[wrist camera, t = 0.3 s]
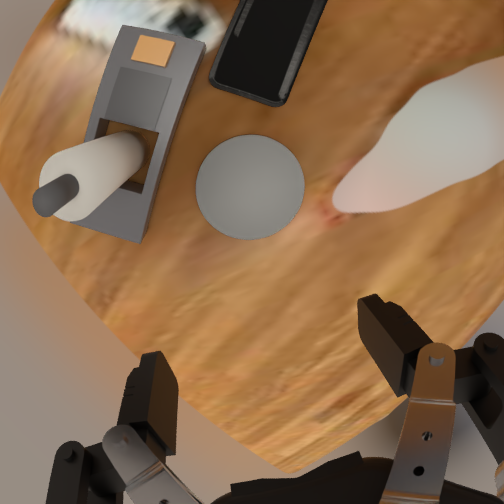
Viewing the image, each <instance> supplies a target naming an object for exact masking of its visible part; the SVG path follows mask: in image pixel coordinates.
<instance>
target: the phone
mask: <svg viewBox="0 0 504 504" xmlns="http://www.w3.org/2000/svg"><path fill="white" fill-rule="evenodd" d="M327 1H328V0H241V1H240V3H239V5H238V7H237V9H236V12H235V14H234V16H233V18H232V20H231V23H230V25H229V27H228V30H227V32H226V34H225V37H224V39H223V41H222V44H221V46H220V49H219V51H218V54H217V56H216V59H215V61H214V64H213V66H212V69H211V71H210V74H209V81H210V83H211V84H212V85H213V86H214V87H215V88H218V89H221V90H224V91H227V92H231V93H234V94H237V95H240V96H243V97H246V98H249V99H252V100H255V101H257V102H260V103H263V104H266V105H269V106H272V107H280V106H282V105H284V104H285V103H286V101H287V99H288V97H289V94H290V92H291V89H292V87H293V84H294V82H295V79H296V77H297V74H298V71H299V69H300V66H301V64H302V62H303V59H304V57H305V54H306V52H307V49H308V47H309V44H310V42H311V39H312V37H313V34H314V32H315V30H316V27H317V25H318V22H319V20H320V17H321V15H322V13H323V10H324V8H325V5H326V3H327Z"/></svg>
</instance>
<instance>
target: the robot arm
mask: <svg viewBox="0 0 504 504" xmlns="http://www.w3.org/2000/svg"><path fill="white" fill-rule="evenodd" d="M357 307H358V330H359V335H360V338H361V340H362V342H363V344H364V345H365V347H366V349H367V350H368V352H369V353H370V355H371V356H372V358H373V359H374V361H375V363H376V364H377V366H378V367H379V369H380V370H381V372H382V374H383V375H384V377H385V378H386V380H387V382H388V383H389V385H390V386H391V388H392V390H393V391H394V393H395V394H396V396H397V398H398V397H400V396H402V395H404V394H407V395H408V397H409V398H410V399H409V403H408V408H407V412H406V417H405V420H404V424H403V428H402V432H401V436H400V439H399V443H398V446H397V449H396V453H395V456H394V459H393V460H392V459H389V458H383V457H366V458H362V457H361V455H360V452H359V451H357V452H355V453H352V454H349V455H346V456H343V457H340V458H337V459H334V460H331V461H328V462H326V463H324V464H323V465H321V466H319V467H317V468H316V469H314V470H312V471H310V472H308V473H306V474H304V475H302V476H300V477H297V478H279V479H263V478H262V479H257V480H252V481H246V482H240V483H234V484H230V485H231V492H229V493H227V494H225V495H223V496H221V497H219V498H218V499H216V500H215V501H214V502H212V503H211V504H504V339H503V338H502V337H501V336H499V335H497V334H494V333H483V334H481V335H479V336H478V337H477V338H476V339H475V341H474V345H473V347H468V348H463V349H458V350H453V349H452V348H451V347H450V346H448V345H446V344H443V343H434V342H433V341H432V340H431V339H430V338H429V337H428V335H427V334H426V333H425V332H424V331H423V330H422V329H421V328H420V327H419V325H418V324H417V323H416V322H415V321H413V319H412V318H411V317H410V316H409V315H408V314H407V312H406V311H405V310H404V309H403V308H402V307H401V306H399V305H397V304H395V303H393V302H391V301H389V302H387V303H384V301H383V300H382V299H381V298H380V297H379V296H378V295H377V294H372V295H369V296H366V297H363V298H360V299H358V302H357ZM178 391H179V390H178V383H177V380H176V377H175V375H174V373H173V371H172V370H171V368H170V366H169V364H168V362H167V360H166V358H165V357H164V355H163V353H162V352H161V351H156V352H151V353H146V354H143V355H142V357H141V361H140V365H139V367H137V368H134V369H133V370H132V372H131V373H130V375H129V376H128V378H127V382H126V386H125V390H124V394H123V396H124V397H123V399H122V403H121V408H120V412H119V417H118V421H117V426H114V427H112V428H111V429H110V430H108V431H107V432H106V434H105V435H104V437H103V440H102V442H100V443H98V444H95V445H92V446H88V447H85V448H84V447H83V446H82V445H81V444H80V443H79V442H77V441H69V442H66V443H64V444H63V445H61V446H60V447H59V449H58V450H57V452H56V455H55V459H54V464H53V468H52V473H51V477H50V482H49V488H48V493H47V499H46V504H123V491H125V490H126V492H127V494H128V495H129V497H130V498H131V500H132V501H133V502H134V504H204V503H203V502H202V501H201V500H200V499H199V498H198V497H197V496H196V495H195V494H194V493H193V492H192V491H191V490H190V489H189V488H188V487H187V486H186V485H185V484H184V483H183V482H182V481H181V480H180V479H179V478H178V477H177V476H176V475H175V474H174V473H173V471H172V470H171V469H170V468H169V467H168V466H167V465H166V464H165V463H166V456H171V455H176V429H177V428H176V427H177V409H178ZM459 403H462V405H463V407H464V408H465V410H466V411H467V412H468V414H469V416H470V418H471V419H472V421H473V422H474V424H475V426H476V427H477V429H478V430H479V432H480V434H481V435H482V437H483V439H484V440H485V442H486V444H487V445H488V447H489V449H490V451H491V452H492V454H493V455H494V457H495V459H496V461H497V463H498V467H497V469H496V472H495V482H496V487H497V496H494V495H492V494H488V493H484V492H481V491H478V490H475V489H471V488H468V487H465V486H462V485H459V484H456V483H453V482H450V481H447V480H445V479H444V476H445V472H446V467H447V463H448V457H449V452H450V446H451V440H452V433H453V426H454V418H455V409H456V404H459ZM87 498H88V499H87Z"/></svg>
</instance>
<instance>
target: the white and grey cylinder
mask: <svg viewBox="0 0 504 504" xmlns="http://www.w3.org/2000/svg"><path fill="white" fill-rule="evenodd" d="M149 154H150V147H149V143H148V141H147V139H146V138H145V136H144V135H143V134H141V133H140V132H138V131H135V130H124V131H121V132H117V133H114V134H111V135H107V136H104V137H101V138H98V139H95V140H92V141H89V142H86V143H83V144H80V145H77V146H74V147H71V148H68V149H66V150H63V151H60V152H58V153H56V154H54V155H53V156H51V157H50V158H49V159H48V160H47V161H46V163H45V164H44V166H43V168H42V170H41V174H40V179H39V189H37V190H36V191H35V193H34V195H33V207H34V209H35V211H36V212H37V213H38V214H39V215H40V216H43V217H50V216H52V215H55V216H56V217H58V218H59V219H62V220H65V221H78V220H81V219H83V218H85V217H87V216H88V215H89V214H90V213H91V212H92V211H94V210H95V209H96V208H97V207H98V206H99V205H100V204H101V203H102V202H103V201H104V200H105V199H106V198H107V197H109V196H110V195H111V194H112V193H113V192H114V191H115V190H116V189H117V188H119V187H120V186H121V185H122V184H123V183H124V182H125V181H126V180H128V179H129V178H130V177H131V176H132V175H133V174H135V173H136V172H137V171H138V170H139V169H141V168H142V167H143V166H144V165H145V163H146V162H147V160H148V158H149Z"/></svg>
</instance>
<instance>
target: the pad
mask: <svg viewBox="0 0 504 504" xmlns="http://www.w3.org/2000/svg"><path fill="white" fill-rule="evenodd" d="M304 188H305V187H304V177H303V172H302V169H301V167H300V165H299V162H298V161H297V159H296V158H295V156H294V155H293V154H292V153H291V152H290V150H289V149H287V148H286V147H285V146H284V145H282V144H281V143H279V142H277V141H275V140H273V139H271V138H268V137H265V136H260V135H241V136H237V137H233V138H231V139H228V140H226V141H224V142H222V143H221V144H219V145H218V146H217V147H215V148H214V149H213V150H212V151H211V152H210V153H209V154H208V155H207V157H206V158H205V160H204V161H203V163H202V165H201V167H200V169H199V172H198V176H197V180H196V197H197V202H198V205H199V208H200V210H201V212H202V214H203V216H204V217H205V219H206V220H207V221H208V222H209V223H210V224H211V225H212V226H213V227H214V228H215V229H217V230H218V231H220V232H221V233H223V234H225V235H227V236H230V237H233V238H237V239H243V240H254V239H261V238H265V237H268V236H270V235H273V234H275V233H276V232H278V231H280V230H281V229H283V228H284V227H285V226H286V225H287V224H289V223H290V221H291V220H292V219H293V218H294V217H295V215H296V214H297V212H298V210H299V208H300V206H301V203H302V200H303V196H304Z"/></svg>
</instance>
